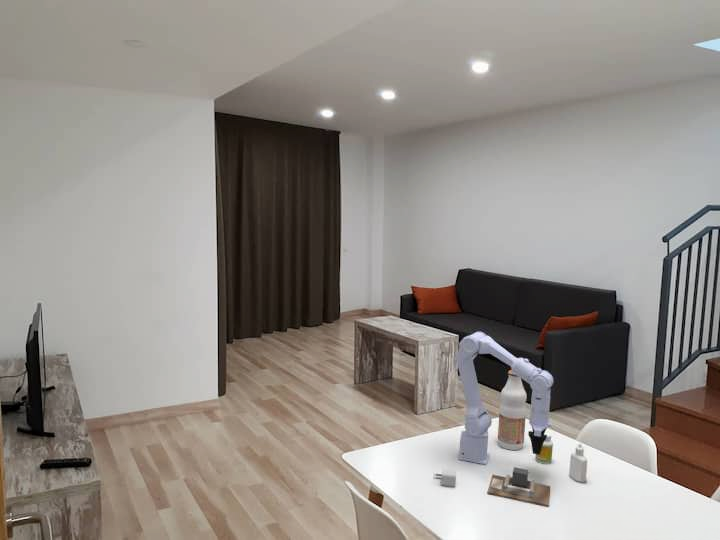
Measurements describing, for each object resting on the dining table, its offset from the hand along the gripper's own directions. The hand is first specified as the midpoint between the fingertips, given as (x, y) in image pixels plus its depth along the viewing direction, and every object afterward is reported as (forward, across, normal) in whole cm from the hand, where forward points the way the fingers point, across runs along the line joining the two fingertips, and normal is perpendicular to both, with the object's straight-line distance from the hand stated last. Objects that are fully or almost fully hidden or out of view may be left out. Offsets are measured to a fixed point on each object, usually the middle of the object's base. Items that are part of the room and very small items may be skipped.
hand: (537, 448), depth 180 cm
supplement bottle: (+10, +13, -2) cm, 16 cm away
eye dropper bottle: (+10, +4, -13) cm, 17 cm away
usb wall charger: (+10, -17, +26) cm, 33 cm away
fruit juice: (+10, +21, +10) cm, 25 cm away
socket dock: (+9, -12, +4) cm, 16 cm away
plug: (+9, -12, +4) cm, 15 cm away
